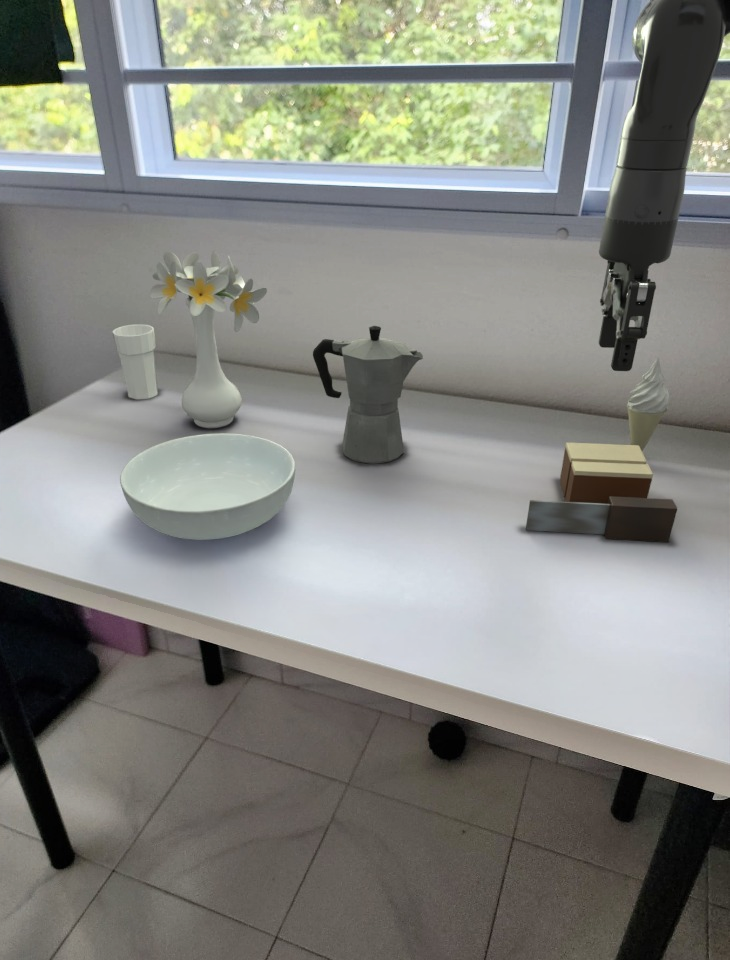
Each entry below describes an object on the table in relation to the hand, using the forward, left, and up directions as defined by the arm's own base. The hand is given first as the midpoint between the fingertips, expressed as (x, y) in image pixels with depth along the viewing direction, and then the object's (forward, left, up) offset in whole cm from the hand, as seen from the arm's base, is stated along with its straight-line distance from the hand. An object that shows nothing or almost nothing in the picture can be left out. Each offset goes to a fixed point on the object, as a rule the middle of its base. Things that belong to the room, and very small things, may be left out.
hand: (613, 357), depth 90 cm
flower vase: (+54, -15, -17) cm, 59 cm away
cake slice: (-1, +7, -17) cm, 18 cm away
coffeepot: (+30, -7, -17) cm, 35 cm away
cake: (-1, +2, -17) cm, 17 cm away
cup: (+70, -25, -17) cm, 77 cm away
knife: (+1, +13, -17) cm, 21 cm away
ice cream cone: (-7, -6, -17) cm, 20 cm away
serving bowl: (+47, +14, -17) cm, 52 cm away
